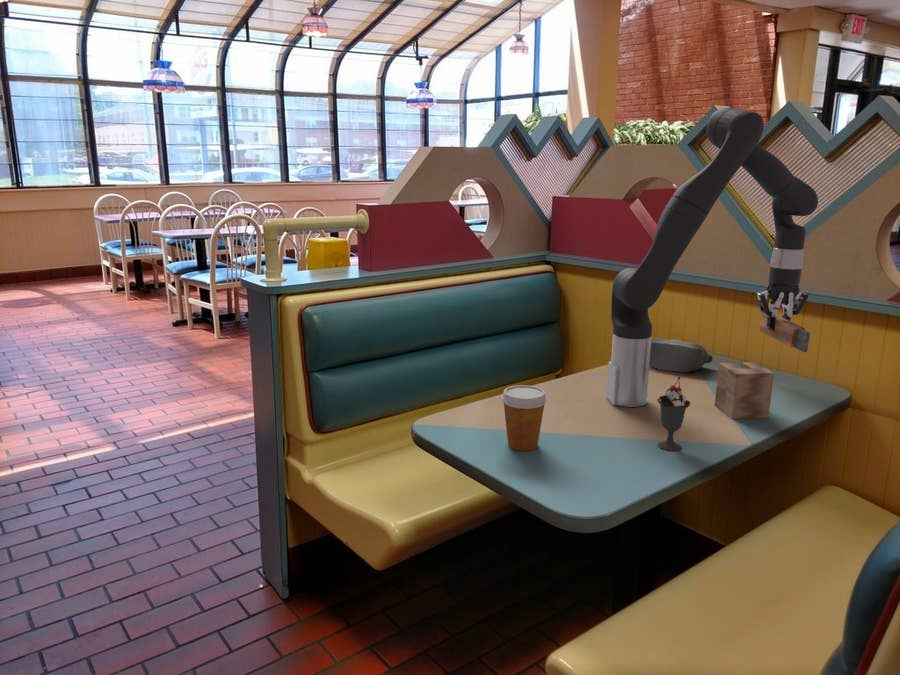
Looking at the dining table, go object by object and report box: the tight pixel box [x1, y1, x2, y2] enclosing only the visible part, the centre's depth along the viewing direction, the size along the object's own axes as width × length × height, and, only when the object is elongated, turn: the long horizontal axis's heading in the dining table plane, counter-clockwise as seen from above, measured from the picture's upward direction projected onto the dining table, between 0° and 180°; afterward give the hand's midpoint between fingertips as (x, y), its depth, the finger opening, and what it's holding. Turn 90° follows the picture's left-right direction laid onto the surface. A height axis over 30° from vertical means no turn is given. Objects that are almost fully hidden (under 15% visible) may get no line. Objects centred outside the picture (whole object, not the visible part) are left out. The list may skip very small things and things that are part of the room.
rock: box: [649, 337, 713, 373], centre depth 206 cm, size 18×11×8 cm, turn 58°
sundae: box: [656, 376, 691, 452], centre depth 149 cm, size 7×7×15 cm
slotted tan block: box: [714, 361, 775, 420], centre depth 169 cm, size 9×9×11 cm
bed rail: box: [759, 312, 811, 353], centre depth 185 cm, size 3×20×5 cm, turn 5°
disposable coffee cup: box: [501, 384, 548, 452], centre depth 150 cm, size 10×10×12 cm
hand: (777, 329), depth 189 cm, fingers closed on bed rail, 3 cm apart
